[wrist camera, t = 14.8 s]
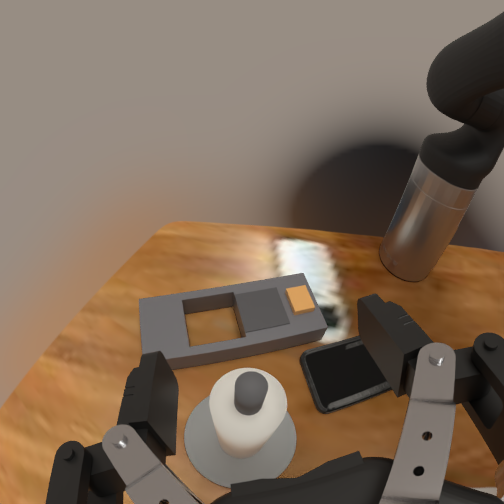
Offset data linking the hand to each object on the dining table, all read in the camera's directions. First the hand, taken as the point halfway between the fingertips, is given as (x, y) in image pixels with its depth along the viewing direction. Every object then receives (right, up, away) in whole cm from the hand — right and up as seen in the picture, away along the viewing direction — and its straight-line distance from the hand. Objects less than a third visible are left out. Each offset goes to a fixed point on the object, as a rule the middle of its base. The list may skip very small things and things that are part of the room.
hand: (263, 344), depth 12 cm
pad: (-2, -15, +15) cm, 21 cm away
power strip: (-3, -5, +24) cm, 25 cm away
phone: (+13, -10, +21) cm, 27 cm away
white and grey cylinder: (-1, -14, +14) cm, 20 cm away
